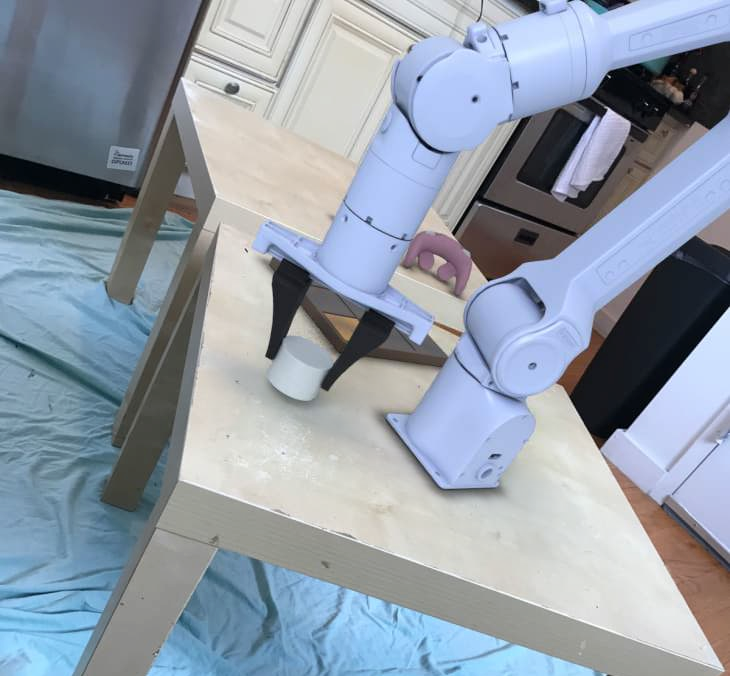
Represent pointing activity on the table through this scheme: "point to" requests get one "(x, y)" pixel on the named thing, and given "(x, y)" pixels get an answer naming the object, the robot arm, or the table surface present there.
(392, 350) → the board
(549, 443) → the table surface
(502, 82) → the robot arm
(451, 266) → the video game controller
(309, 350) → the white squat cylinder
